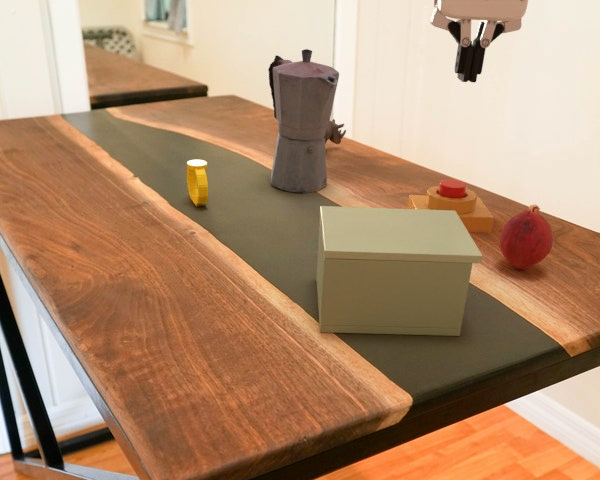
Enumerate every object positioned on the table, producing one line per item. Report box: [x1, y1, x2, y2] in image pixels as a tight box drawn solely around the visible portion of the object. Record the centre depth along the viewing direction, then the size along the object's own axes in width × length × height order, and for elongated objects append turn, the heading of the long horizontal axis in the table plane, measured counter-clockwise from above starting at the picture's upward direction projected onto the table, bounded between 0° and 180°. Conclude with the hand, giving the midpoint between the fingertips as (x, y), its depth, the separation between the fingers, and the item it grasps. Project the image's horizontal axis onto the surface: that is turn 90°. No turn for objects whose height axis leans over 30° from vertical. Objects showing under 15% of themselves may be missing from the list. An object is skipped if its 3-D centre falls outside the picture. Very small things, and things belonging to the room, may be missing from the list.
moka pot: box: [267, 48, 340, 194], centre depth 98 cm, size 10×15×20 cm, turn 42°
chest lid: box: [319, 205, 483, 264], centre depth 65 cm, size 14×12×1 cm
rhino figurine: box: [324, 118, 347, 145], centre depth 117 cm, size 4×14×6 cm, turn 129°
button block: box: [407, 185, 495, 233], centre depth 90 cm, size 10×8×4 cm
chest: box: [316, 217, 473, 337], centre depth 67 cm, size 14×12×8 cm
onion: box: [499, 204, 554, 271], centre depth 76 cm, size 6×6×8 cm
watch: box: [186, 159, 209, 207], centre depth 92 cm, size 6×3×6 cm, turn 24°
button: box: [438, 179, 468, 199], centre depth 89 cm, size 4×4×2 cm
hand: (466, 79), depth 81 cm, fingers closed
